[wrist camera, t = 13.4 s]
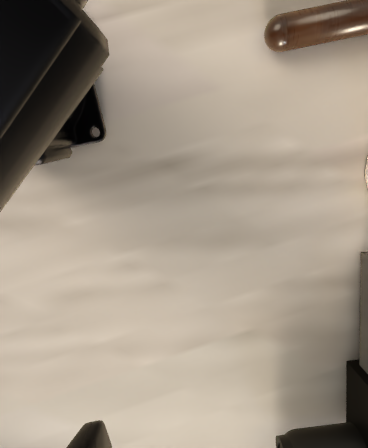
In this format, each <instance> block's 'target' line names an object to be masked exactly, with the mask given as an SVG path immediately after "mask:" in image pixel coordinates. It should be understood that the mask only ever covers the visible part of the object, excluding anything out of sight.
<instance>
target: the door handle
mask: <svg viewBox="0 0 368 448" xmlns="http://www.w3.org/2000/svg"><path fill="white" fill-rule="evenodd" d="M276 448H368V252H361V281H360V358H359V360H352V361H347V391H346V423H340V424H332V425H324V426H316V427H308V428H300V429H294V430H291V431H289V432H287V433H286V434H285V435H280V436H276Z"/></svg>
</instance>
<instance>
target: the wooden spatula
mask: <svg viewBox="0 0 368 448" xmlns="http://www.w3.org/2000/svg"><path fill="white" fill-rule="evenodd" d="M365 34H368V0H346V1H341V2H337V3H332V4H327V5H322V6H317V7H312V8H307V9H303V10H298V11H293V12H288V13H283V14H279V15H277V16H275V17H273V18H272V19H271V20H270V21H269V23H268V24H267V26H266V29H265V33H264V38H265V42H266V44H267V46H268V47H269V48H270V49H271V50H273V51H276V52H283V51H288V50H292V49H297V48H302V47H307V46H312V45H317V44H322V43H326V42H331V41H336V40H341V39H346V38H351V37H356V36H360V35H365Z"/></svg>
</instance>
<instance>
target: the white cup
mask: <svg viewBox="0 0 368 448" xmlns="http://www.w3.org/2000/svg"><path fill="white" fill-rule="evenodd" d="M365 178H366V183H367V187H368V158H367V163H366V169H365Z"/></svg>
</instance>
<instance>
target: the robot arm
mask: <svg viewBox="0 0 368 448" xmlns="http://www.w3.org/2000/svg"><path fill="white" fill-rule="evenodd" d="M87 1H88V0H0V212H1V210H2V209H3V208H4V206H5V205H6V204H7V202H8V201H9V199H10V198H11V197H12V195H13V194H14V193H15V191H16V190H17V188H18V187H19V186H20V184H21V183H22V182H23V180H24V179H25V177H26V176H27V175H28V173H29V172H30V170H31V169H32V168H33V166H34V165H39V164H44V163H48V162H53V161H57V160H61V159H65V158H70V156H71V154H72V150H71V148H72V147H77V146H82V145H87V144H92V143H97V142H100V141H103V140H104V138H105V136H106V128H105V125H104V121H103V117H102V113H101V109H100V105H99V101H98V97H97V93H96V89H95V85H94V82H95V81H96V80H97V78H98V77H99V75H100V74H101V73H102V71H103V68H102V67H101V66H102V65H103V63H104V62H105V61H106V59H107V58H108V56H109V49H108V41H107V39H106V37H105V36H104V35H103V33H102V32H101V31H100V30H99V28H98V27H97V26H96V25H95V23H94V22H93V21H92V20H91V19H90V18H89V17H88V15H87V14H86V13H85V12H84V11H83V10H82V9H83V8H84V6H85V5H86V3H87ZM95 127H97V128H98V129H99V130H100V135H99V136H98V137H94V136H93V134H92V130H93V128H95ZM67 448H112V445H111V442H110V439H109V436H108V433H107V430H106V427H105V424H104V422H103V421H100V420H99V421H94V422H89V423H86V424H85V425H83V427H82V428H81V429H80V431H79V432H78V433H77V434H76V436H75V437H74V438H73V440H72V441H71V442H70V444H69V445H68V446H67Z"/></svg>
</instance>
